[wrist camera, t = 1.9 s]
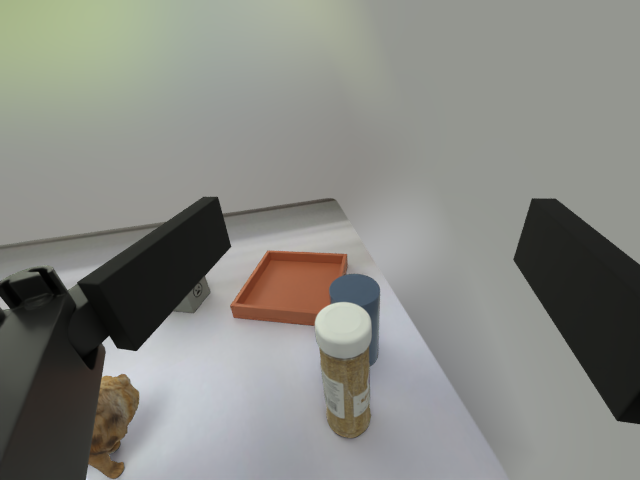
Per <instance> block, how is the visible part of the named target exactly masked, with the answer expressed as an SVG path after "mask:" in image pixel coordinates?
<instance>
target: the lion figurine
mask: <svg viewBox="0 0 640 480" xmlns="http://www.w3.org/2000/svg"><path fill="white" fill-rule="evenodd" d="M138 404H139V391H138V390H136V389H135V388H134V387H133V386H132V385H131V384H130V379H129V378H128V377H127V376H126V375H125V374H121V375H119V376H118V377H112V376H104V377H102V378H101V385H100V391H99V398H98V404H97V410H96V417H95V423H94V430H93V436H92V442H91V449H90V455H89V462H88V464H89V465H91V466H93V467H94V468H96V469H98V470H99V471H101V472H102V473H103V474H104V475H106V476H107V477H109V478H112V479H114V478H117V477H119V476H120V474H121V473H122V472H123V470H124V463H123V462H120V463H117V462H115V461H111V459H110V456H109V454H111V453H113V452H115V451H116V450H117V449H118V448H119V446H120V440H121V439H122V438H123V437H124V436H125V434H127V426H128V424H129V423H130V422H131V420H132V419H133V416H134V414H135V411H136V410H137V408H138Z"/></svg>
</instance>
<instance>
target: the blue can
mask: <svg viewBox="0 0 640 480" xmlns="http://www.w3.org/2000/svg"><path fill="white" fill-rule="evenodd" d="M329 297H330V305H331V304H334V303H338V302H348V303H353V304H356V305H358V306H360V307H362V308H363V309H364V310H365V311H366V312H367V313H368V314H369V316H370V319H371V326H372V337H371V342H370V345H369V364H370V366H371V365H373V364H374V363H375V361H376V360H377V357H378V347H379V311H380V287H379V285H378V284H377V282H376V281H375V280H374V279H372V278H370V277H368V276H365V275H361V274H348V275H344V276H341V277H339V278H337V279H335V280H334V281H333V282H332V283H331V285H330V287H329Z"/></svg>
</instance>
